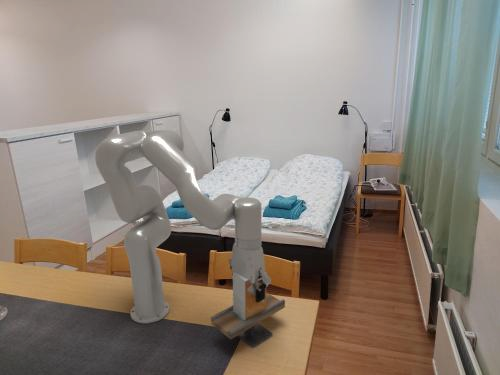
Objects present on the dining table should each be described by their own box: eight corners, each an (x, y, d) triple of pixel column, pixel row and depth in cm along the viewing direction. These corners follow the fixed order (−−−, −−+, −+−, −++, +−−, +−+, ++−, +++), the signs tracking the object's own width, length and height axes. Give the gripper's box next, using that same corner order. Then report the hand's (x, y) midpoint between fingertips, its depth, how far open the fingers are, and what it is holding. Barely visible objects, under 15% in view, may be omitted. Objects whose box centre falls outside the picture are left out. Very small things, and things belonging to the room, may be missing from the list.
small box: (245, 321, 105) (244, 281, 101) (232, 311, 110) (231, 272, 106) (266, 311, 110) (267, 272, 106) (253, 301, 114) (253, 264, 111)
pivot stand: (227, 328, 114) (226, 313, 112) (246, 317, 119) (246, 303, 117) (253, 348, 105) (253, 332, 104) (272, 335, 110) (272, 320, 109)
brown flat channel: (211, 324, 106) (211, 316, 106) (264, 295, 121) (264, 288, 120) (230, 339, 100) (230, 331, 99) (284, 307, 114) (285, 300, 114)
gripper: (219, 235, 107) (221, 287, 112) (259, 255, 95) (260, 311, 100) (238, 228, 112) (239, 278, 117) (279, 246, 100) (278, 301, 105)
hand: (248, 293), depth 108 cm, fingers open, 9 cm apart
